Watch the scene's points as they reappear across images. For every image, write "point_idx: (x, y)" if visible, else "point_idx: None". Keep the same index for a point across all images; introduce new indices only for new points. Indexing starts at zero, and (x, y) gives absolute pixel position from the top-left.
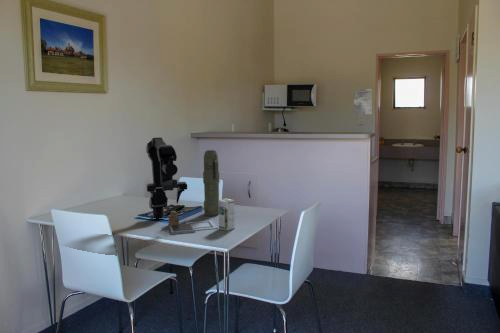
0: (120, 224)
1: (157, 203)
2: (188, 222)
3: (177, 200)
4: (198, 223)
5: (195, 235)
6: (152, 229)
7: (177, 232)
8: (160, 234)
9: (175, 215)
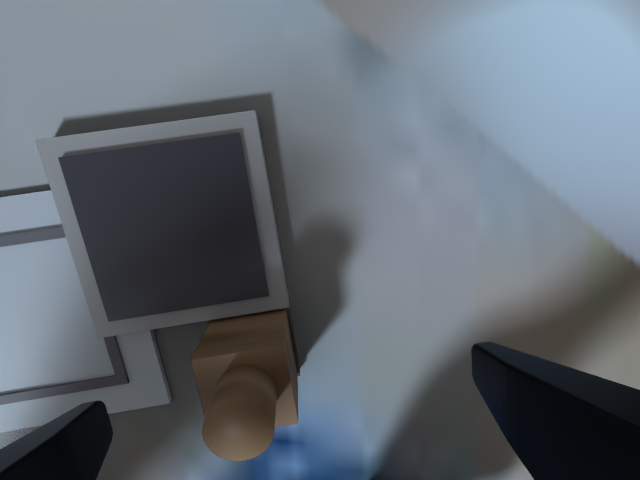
0: None
1: (503, 348)
2: (141, 406)
3: (33, 442)
4: (50, 370)
5: (35, 34)
6: (416, 280)
7: (206, 118)
8: (352, 131)
9: (220, 384)
